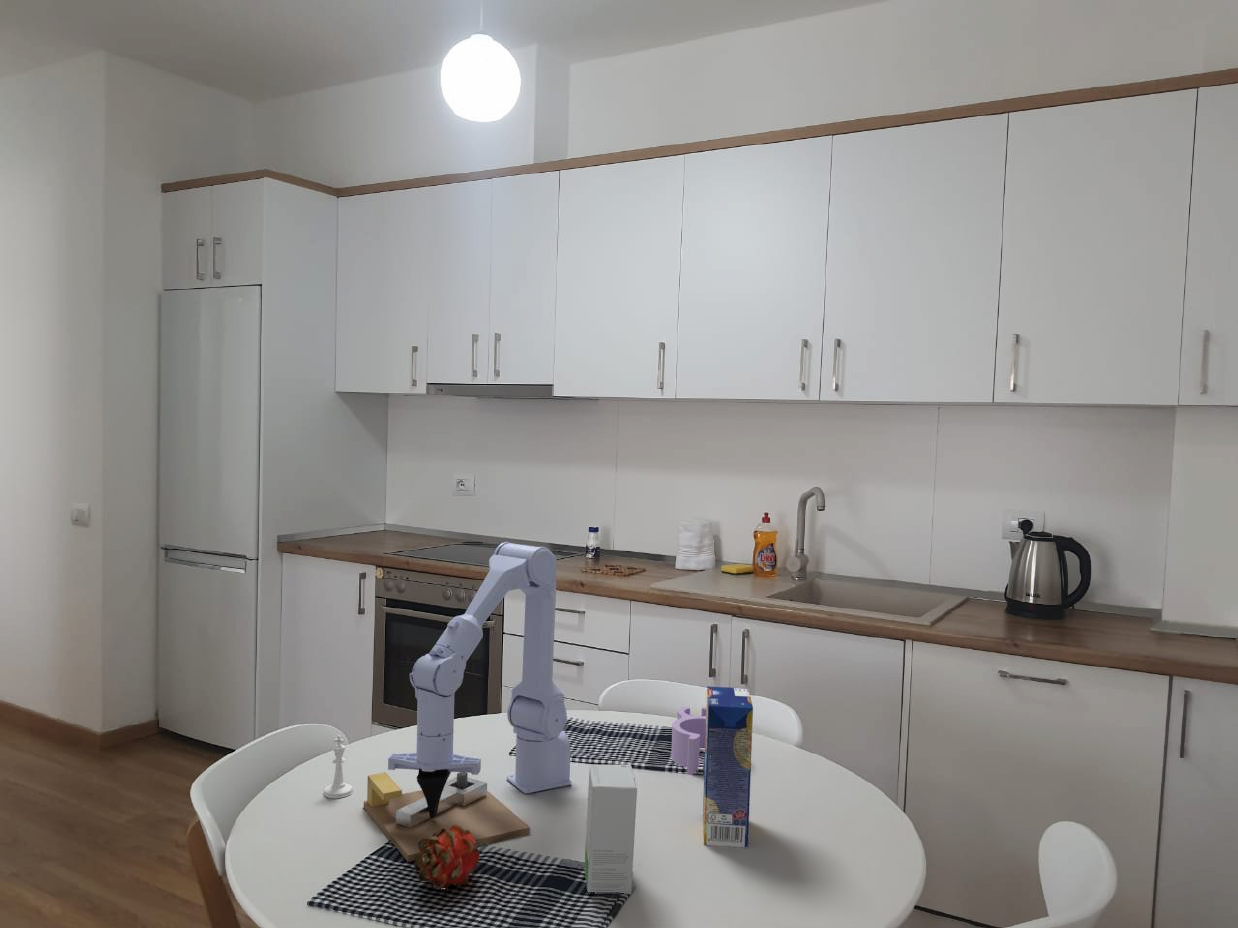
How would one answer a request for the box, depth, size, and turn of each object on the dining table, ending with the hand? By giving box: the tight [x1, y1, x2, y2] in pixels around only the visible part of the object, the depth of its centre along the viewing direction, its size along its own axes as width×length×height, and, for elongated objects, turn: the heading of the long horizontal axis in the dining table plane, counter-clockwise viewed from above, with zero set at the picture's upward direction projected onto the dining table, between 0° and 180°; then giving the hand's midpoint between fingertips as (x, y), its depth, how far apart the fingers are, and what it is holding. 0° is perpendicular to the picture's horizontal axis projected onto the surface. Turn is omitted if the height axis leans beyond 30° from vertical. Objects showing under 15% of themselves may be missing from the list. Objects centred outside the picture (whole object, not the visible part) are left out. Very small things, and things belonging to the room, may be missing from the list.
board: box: [363, 772, 531, 863], centre depth 150 cm, size 20×22×5 cm
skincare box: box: [584, 764, 638, 895], centre depth 131 cm, size 8×7×16 cm
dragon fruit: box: [413, 825, 480, 890], centre depth 130 cm, size 8×8×12 cm
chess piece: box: [323, 734, 354, 799], centre depth 160 cm, size 5×5×10 cm
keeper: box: [366, 772, 403, 807], centre depth 151 cm, size 3×8×4 cm, turn 32°
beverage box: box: [702, 685, 754, 849], centre depth 149 cm, size 7×11×22 cm, turn 176°
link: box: [396, 776, 488, 828], centre depth 152 cm, size 17×6×2 cm, turn 149°
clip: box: [670, 706, 707, 775], centre depth 183 cm, size 20×12×7 cm, turn 3°
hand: (433, 814), depth 147 cm, fingers closed
